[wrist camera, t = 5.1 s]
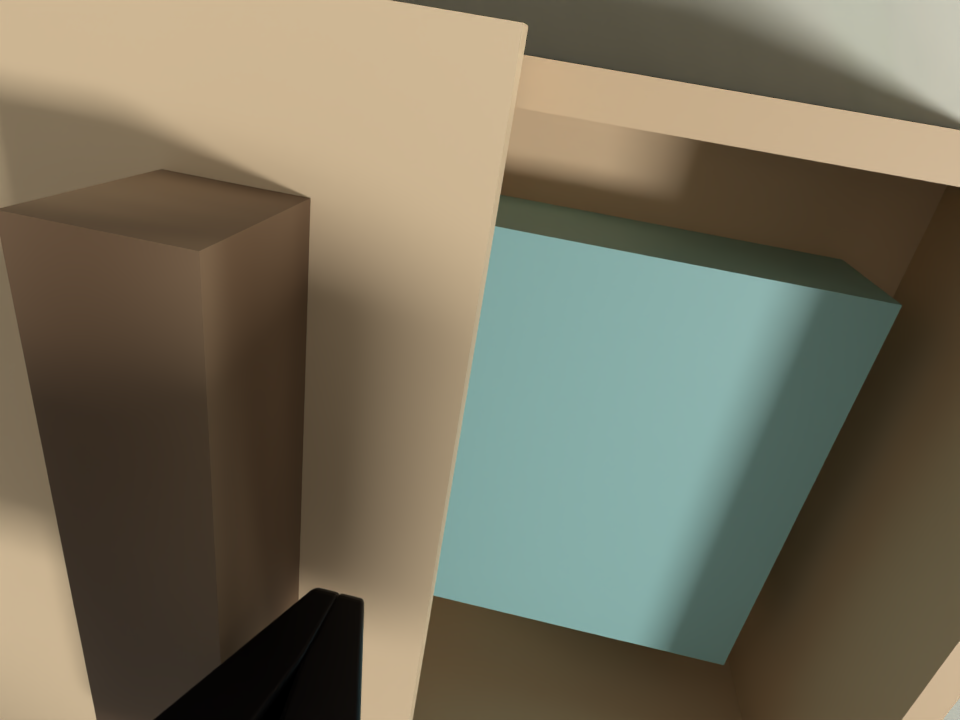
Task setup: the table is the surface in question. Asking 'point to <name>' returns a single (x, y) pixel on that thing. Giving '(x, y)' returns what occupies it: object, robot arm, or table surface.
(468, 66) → the mailer lid
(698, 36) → the table surface
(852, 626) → the mailer box
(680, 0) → the table surface
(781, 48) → the table surface
